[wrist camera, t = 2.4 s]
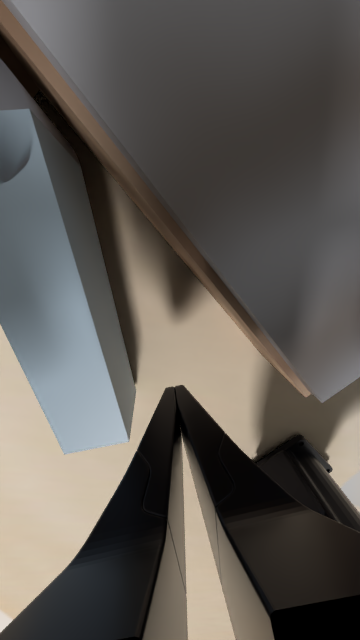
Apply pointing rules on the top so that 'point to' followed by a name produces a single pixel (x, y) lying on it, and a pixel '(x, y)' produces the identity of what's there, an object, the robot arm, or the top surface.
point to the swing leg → (57, 281)
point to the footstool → (225, 150)
